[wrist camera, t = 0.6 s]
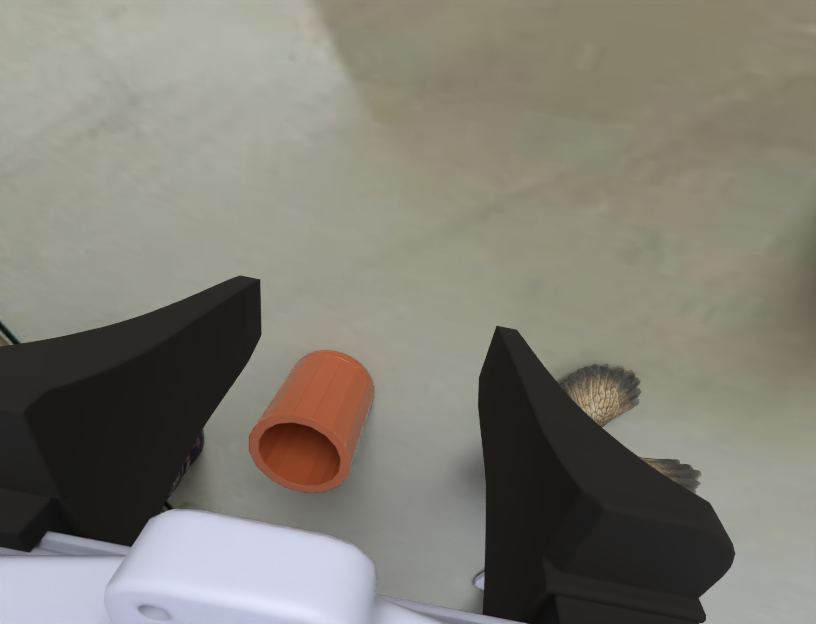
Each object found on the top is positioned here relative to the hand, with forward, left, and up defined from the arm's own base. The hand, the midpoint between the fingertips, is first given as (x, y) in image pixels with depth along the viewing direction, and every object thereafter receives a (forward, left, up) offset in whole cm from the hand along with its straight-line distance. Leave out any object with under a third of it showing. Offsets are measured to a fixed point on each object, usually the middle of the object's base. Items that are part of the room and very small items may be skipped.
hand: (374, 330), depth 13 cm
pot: (-11, -1, -10) cm, 15 cm away
